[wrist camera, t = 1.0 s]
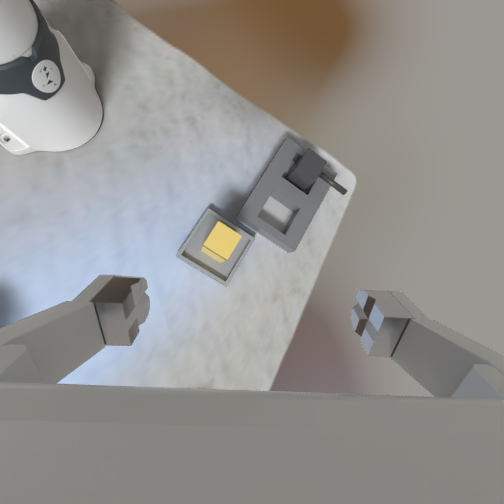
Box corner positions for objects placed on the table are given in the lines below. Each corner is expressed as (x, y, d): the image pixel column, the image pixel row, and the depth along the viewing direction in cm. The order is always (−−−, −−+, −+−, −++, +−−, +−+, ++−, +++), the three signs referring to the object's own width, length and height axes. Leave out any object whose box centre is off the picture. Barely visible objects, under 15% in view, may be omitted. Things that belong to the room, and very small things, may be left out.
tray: (176, 256, 40) (175, 255, 39) (207, 209, 43) (208, 207, 41) (225, 286, 42) (226, 286, 41) (253, 239, 44) (255, 238, 43)
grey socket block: (235, 218, 44) (243, 207, 36) (280, 146, 47) (296, 123, 40) (295, 258, 46) (314, 255, 39) (334, 186, 50) (358, 171, 42)
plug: (200, 251, 41) (202, 244, 32) (213, 231, 42) (218, 220, 33) (220, 263, 42) (227, 260, 33) (232, 244, 43) (242, 236, 34)
